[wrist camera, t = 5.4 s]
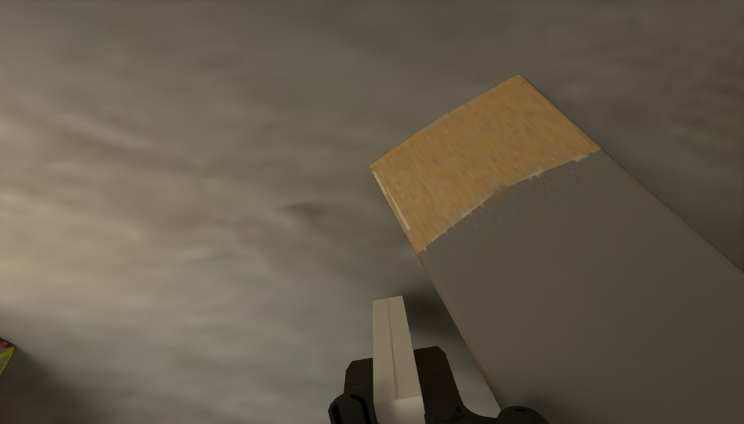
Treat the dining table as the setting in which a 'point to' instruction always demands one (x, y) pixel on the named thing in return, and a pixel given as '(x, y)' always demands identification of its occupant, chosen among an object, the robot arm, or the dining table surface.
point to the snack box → (5, 354)
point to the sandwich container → (567, 269)
